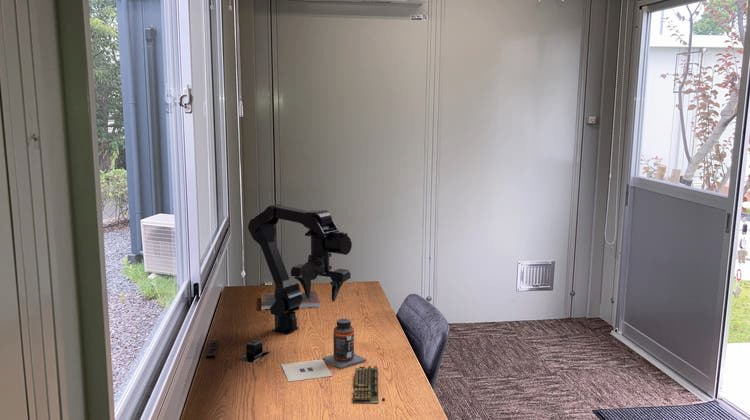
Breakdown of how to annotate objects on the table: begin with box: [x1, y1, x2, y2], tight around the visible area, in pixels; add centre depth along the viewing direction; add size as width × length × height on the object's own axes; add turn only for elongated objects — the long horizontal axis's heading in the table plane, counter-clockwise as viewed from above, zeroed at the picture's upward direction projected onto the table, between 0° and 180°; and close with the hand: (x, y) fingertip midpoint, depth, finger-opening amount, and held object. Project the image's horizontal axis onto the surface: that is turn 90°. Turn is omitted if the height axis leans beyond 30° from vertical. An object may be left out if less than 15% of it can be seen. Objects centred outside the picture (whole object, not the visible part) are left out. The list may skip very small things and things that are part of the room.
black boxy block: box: [236, 339, 272, 363], centre depth 180 cm, size 12×7×5 cm, turn 155°
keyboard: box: [352, 365, 386, 405], centre depth 160 cm, size 22×9×2 cm, turn 0°
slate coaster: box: [322, 353, 367, 370], centre depth 176 cm, size 9×9×1 cm
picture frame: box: [260, 290, 321, 311], centre depth 233 cm, size 16×2×22 cm
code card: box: [281, 358, 333, 383], centre depth 169 cm, size 12×12×1 cm
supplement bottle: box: [332, 318, 355, 361], centre depth 175 cm, size 6×6×11 cm
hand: (320, 299), depth 192 cm, fingers open, 9 cm apart
